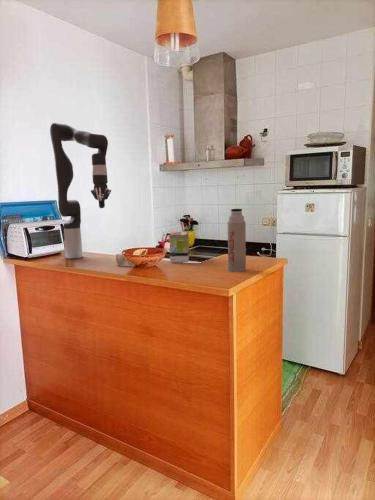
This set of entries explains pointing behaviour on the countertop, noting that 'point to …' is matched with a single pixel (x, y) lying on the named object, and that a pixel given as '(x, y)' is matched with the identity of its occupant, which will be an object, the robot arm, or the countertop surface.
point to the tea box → (179, 247)
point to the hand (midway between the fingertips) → (102, 207)
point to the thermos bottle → (236, 241)
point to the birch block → (122, 260)
